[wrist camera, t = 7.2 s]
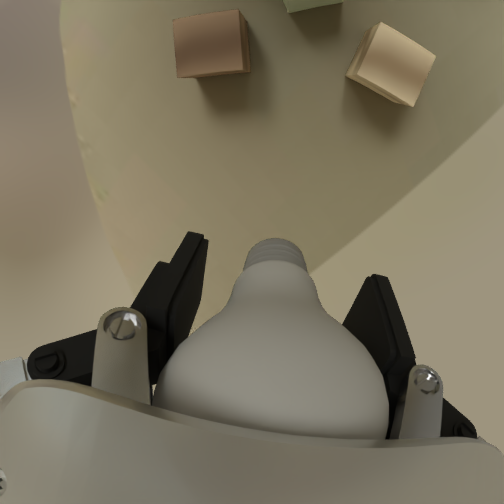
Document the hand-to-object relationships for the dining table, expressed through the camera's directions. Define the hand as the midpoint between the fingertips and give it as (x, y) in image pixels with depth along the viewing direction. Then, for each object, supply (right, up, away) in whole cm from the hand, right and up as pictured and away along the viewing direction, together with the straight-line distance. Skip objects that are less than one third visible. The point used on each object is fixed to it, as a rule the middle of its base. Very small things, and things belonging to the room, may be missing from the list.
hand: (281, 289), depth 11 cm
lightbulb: (0, +1, +3) cm, 3 cm away
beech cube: (+10, +18, +10) cm, 23 cm away
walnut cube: (-4, +19, +11) cm, 23 cm away
